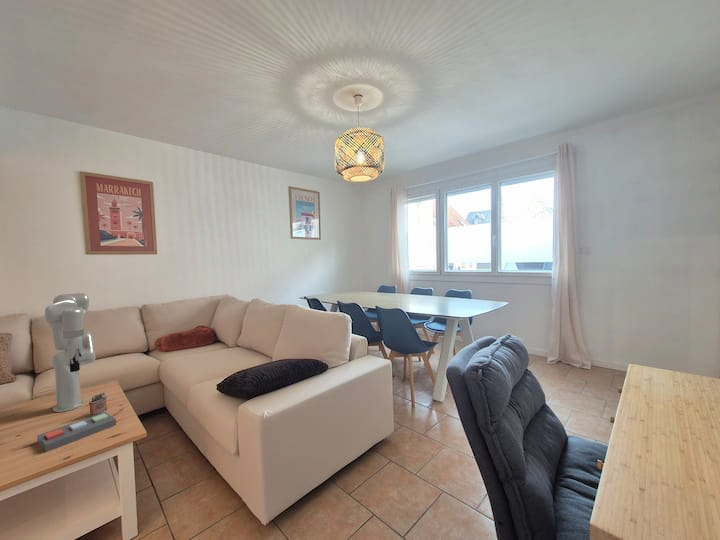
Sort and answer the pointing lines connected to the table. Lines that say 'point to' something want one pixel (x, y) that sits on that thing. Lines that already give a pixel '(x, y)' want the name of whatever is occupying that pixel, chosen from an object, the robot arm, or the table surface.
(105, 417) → the sage button
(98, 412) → the lighter
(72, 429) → the bluegrey button
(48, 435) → the red button
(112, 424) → the button panel
